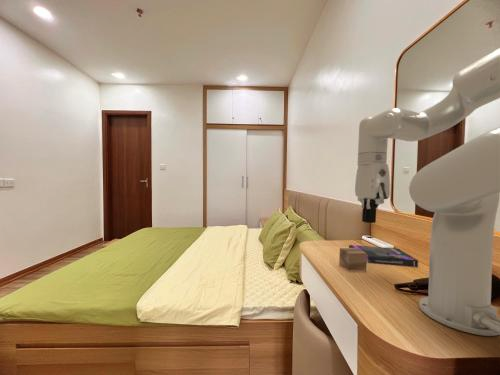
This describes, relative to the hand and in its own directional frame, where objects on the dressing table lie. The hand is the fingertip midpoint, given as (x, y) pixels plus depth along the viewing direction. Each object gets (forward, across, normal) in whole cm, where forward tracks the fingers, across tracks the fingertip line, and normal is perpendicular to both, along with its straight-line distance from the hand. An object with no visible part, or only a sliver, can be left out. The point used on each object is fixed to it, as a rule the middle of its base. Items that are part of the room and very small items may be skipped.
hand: (368, 222), depth 66 cm
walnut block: (+17, +8, 0) cm, 19 cm away
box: (+18, +18, -17) cm, 30 cm away
